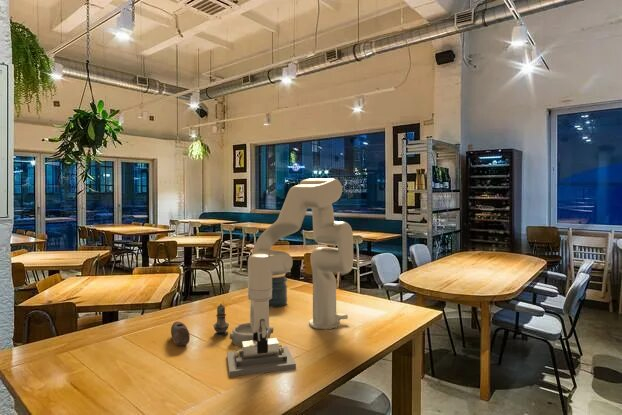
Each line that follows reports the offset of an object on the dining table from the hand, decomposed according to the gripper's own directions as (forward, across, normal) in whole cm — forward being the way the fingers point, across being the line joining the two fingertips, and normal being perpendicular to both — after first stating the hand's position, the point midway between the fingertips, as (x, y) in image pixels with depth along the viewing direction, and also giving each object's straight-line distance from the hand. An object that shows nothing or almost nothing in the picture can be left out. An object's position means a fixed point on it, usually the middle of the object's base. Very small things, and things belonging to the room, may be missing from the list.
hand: (260, 346), depth 124 cm
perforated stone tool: (+5, -25, -26) cm, 36 cm away
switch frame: (+5, 0, 0) cm, 5 cm away
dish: (+6, -19, -1) cm, 20 cm away
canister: (+5, -62, +15) cm, 64 cm away
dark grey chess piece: (+5, -28, -11) cm, 31 cm away
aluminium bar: (+4, 0, 0) cm, 4 cm away
